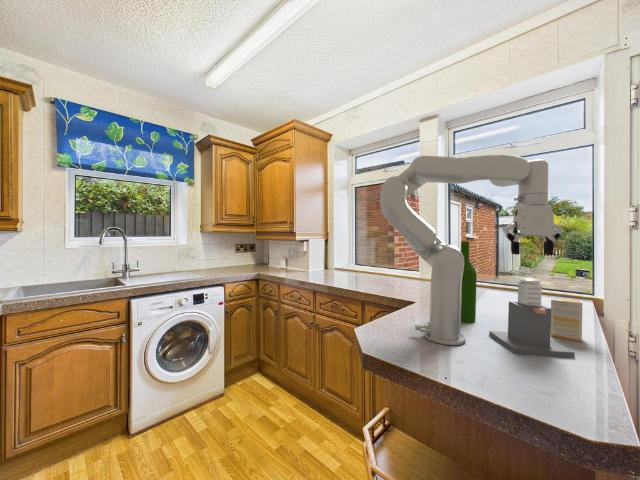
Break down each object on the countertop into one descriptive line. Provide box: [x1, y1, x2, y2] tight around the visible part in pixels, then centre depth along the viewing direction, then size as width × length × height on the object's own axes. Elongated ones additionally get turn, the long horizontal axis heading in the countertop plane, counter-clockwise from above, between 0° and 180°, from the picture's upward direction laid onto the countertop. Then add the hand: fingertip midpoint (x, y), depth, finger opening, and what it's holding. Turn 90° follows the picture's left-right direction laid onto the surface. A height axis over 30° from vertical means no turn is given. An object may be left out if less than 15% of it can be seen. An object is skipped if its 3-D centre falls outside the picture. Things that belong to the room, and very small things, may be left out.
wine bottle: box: [460, 240, 478, 324], centre depth 118 cm, size 9×9×32 cm
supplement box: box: [550, 297, 583, 342], centre depth 99 cm, size 8×5×13 cm, turn 48°
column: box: [517, 278, 543, 307], centre depth 91 cm, size 5×5×19 cm
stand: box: [488, 300, 576, 358], centre depth 91 cm, size 16×16×13 cm
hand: (531, 254), depth 91 cm, fingers open, 9 cm apart
